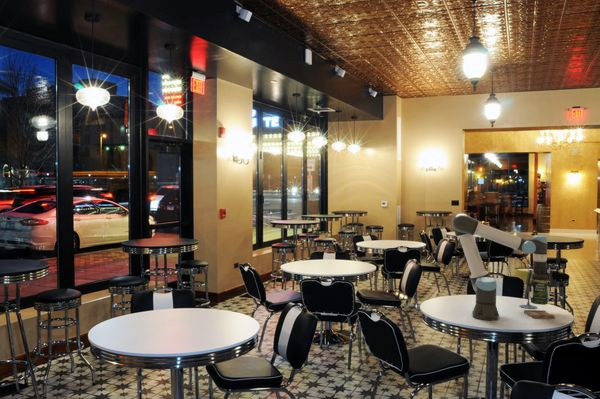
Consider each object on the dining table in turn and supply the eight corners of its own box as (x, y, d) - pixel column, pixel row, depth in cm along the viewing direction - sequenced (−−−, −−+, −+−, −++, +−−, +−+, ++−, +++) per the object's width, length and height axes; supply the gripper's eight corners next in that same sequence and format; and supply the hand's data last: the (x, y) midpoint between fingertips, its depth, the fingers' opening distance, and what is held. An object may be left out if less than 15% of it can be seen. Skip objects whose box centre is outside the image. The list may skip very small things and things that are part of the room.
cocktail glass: (526, 310, 325) (527, 272, 325) (507, 304, 342) (508, 267, 342) (549, 309, 330) (550, 271, 329) (530, 303, 347) (531, 267, 347)
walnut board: (532, 318, 307) (532, 315, 307) (523, 312, 320) (524, 310, 320) (554, 318, 307) (554, 315, 307) (544, 313, 320) (544, 310, 320)
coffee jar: (530, 304, 312) (531, 273, 311) (530, 301, 319) (531, 272, 318) (548, 305, 307) (548, 275, 307) (548, 303, 314) (548, 273, 314)
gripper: (524, 261, 309) (524, 298, 310) (561, 261, 308) (560, 298, 309) (519, 259, 317) (519, 295, 317) (555, 260, 316) (554, 296, 316)
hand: (539, 297), depth 313 cm, fingers closed on coffee jar, 9 cm apart
